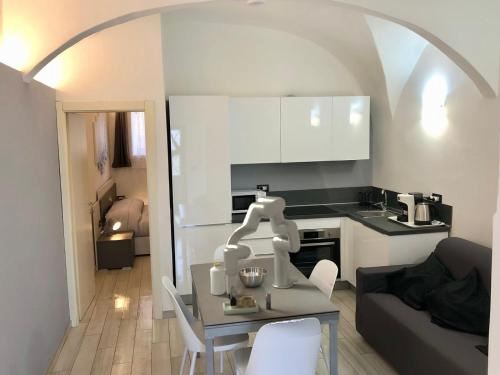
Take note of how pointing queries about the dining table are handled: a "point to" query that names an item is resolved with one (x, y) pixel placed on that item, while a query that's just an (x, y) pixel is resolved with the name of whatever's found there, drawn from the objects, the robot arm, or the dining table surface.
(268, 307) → the steel stake
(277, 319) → the dining table surface
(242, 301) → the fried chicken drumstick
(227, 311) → the sage tray
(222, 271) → the potion bottle
